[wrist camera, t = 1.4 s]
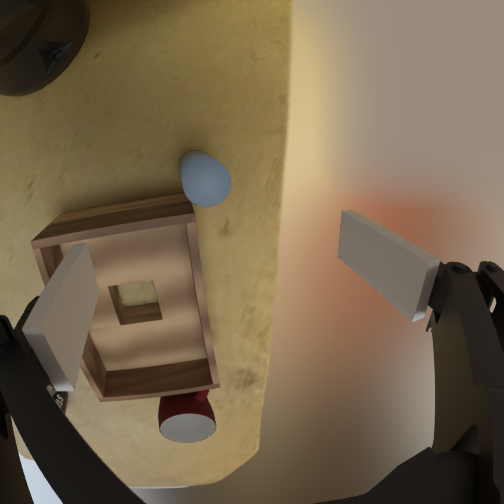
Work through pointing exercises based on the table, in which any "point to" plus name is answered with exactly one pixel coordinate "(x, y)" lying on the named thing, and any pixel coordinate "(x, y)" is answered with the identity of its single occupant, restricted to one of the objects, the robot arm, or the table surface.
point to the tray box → (143, 316)
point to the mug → (186, 417)
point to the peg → (204, 178)
